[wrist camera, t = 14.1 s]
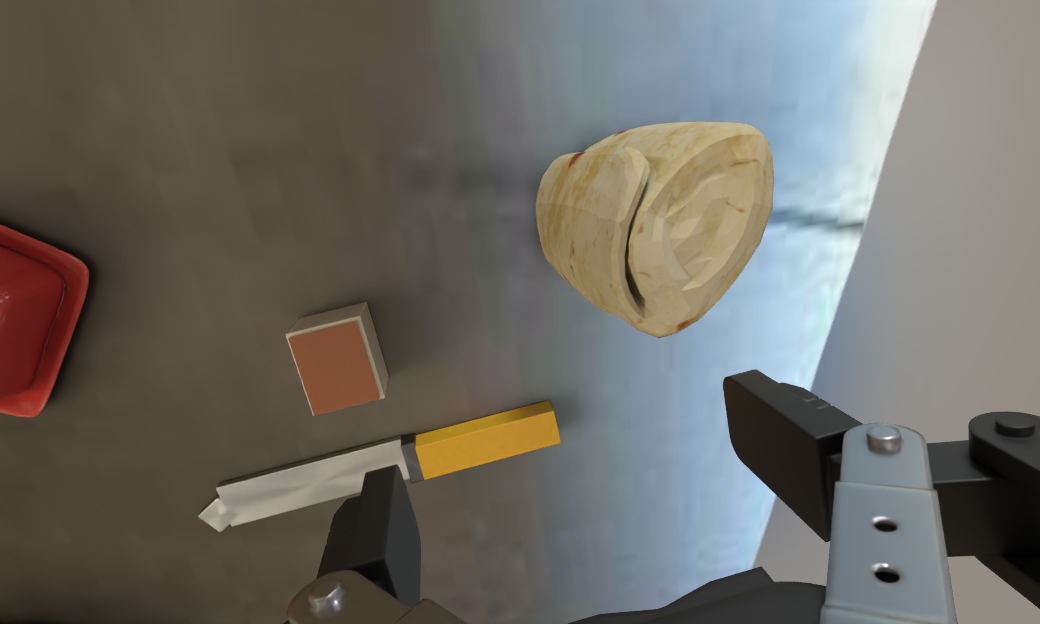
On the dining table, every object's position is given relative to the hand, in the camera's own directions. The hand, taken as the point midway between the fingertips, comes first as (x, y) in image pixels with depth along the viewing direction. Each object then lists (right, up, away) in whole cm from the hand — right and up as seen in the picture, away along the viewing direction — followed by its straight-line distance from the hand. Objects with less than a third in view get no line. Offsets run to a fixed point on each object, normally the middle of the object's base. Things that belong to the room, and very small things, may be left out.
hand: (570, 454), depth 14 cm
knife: (-11, -7, +29) cm, 32 cm away
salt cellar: (-13, +1, +27) cm, 30 cm away
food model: (+3, +11, +27) cm, 29 cm away
